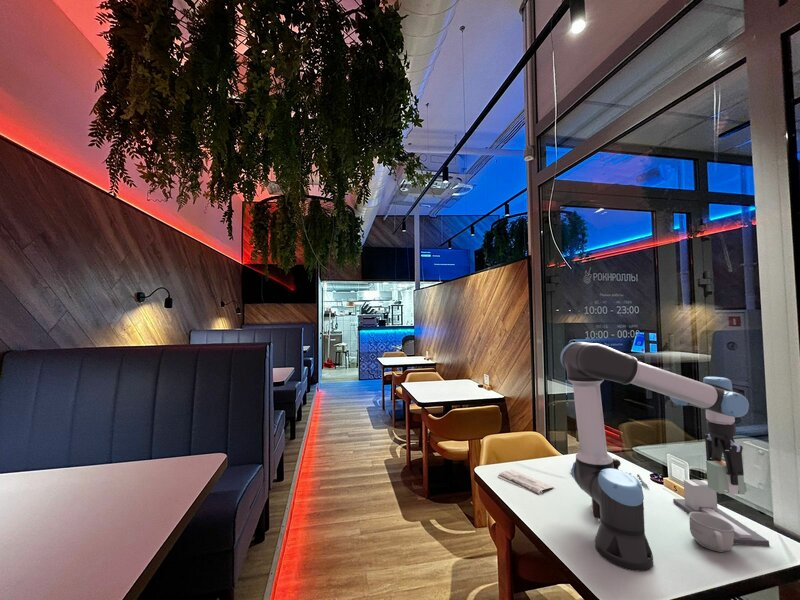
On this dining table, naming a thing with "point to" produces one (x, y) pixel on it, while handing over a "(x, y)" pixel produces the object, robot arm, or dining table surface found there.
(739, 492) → the block
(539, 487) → the newspaper
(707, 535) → the teacup
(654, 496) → the dining table surface
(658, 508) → the dining table surface
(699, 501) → the stepped base plate
